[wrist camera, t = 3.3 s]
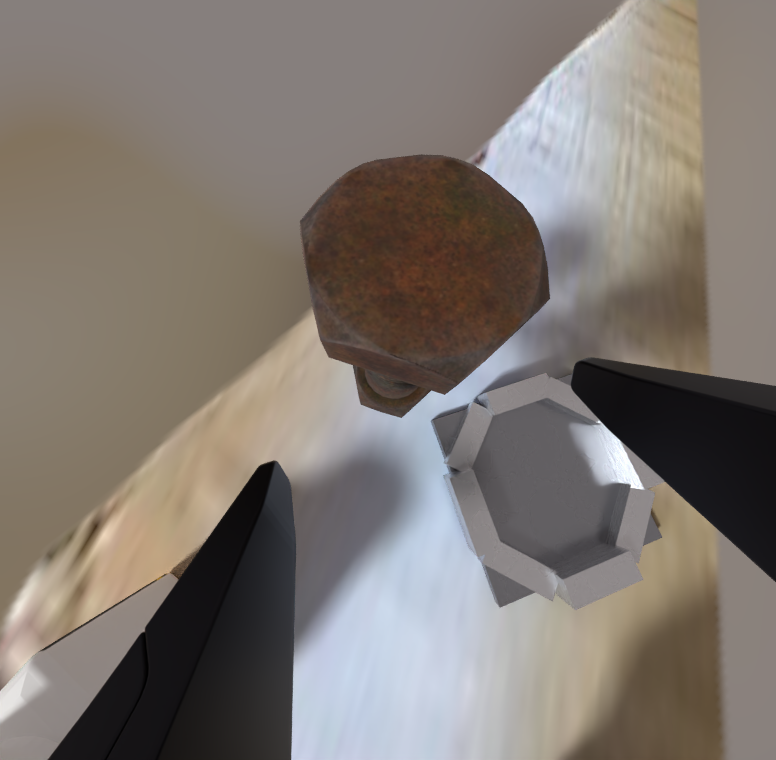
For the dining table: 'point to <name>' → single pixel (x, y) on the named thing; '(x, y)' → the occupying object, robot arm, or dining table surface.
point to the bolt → (419, 274)
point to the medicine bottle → (71, 675)
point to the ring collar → (547, 493)
